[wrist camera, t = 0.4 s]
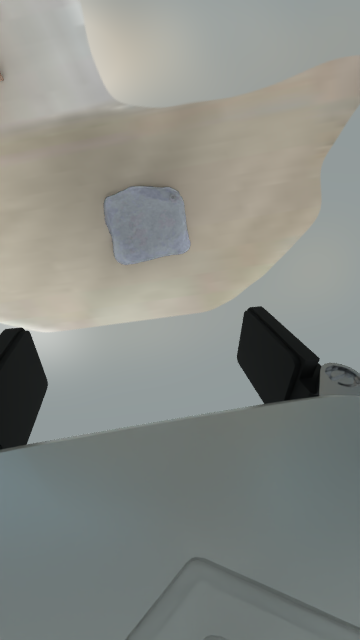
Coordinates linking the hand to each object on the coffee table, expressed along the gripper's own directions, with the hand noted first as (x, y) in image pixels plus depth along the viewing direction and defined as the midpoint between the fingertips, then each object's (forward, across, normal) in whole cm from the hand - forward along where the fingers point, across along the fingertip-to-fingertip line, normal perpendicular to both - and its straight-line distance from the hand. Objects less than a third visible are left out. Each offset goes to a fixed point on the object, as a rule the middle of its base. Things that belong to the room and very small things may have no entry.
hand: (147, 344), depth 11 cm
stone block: (+31, -2, -1) cm, 31 cm away
